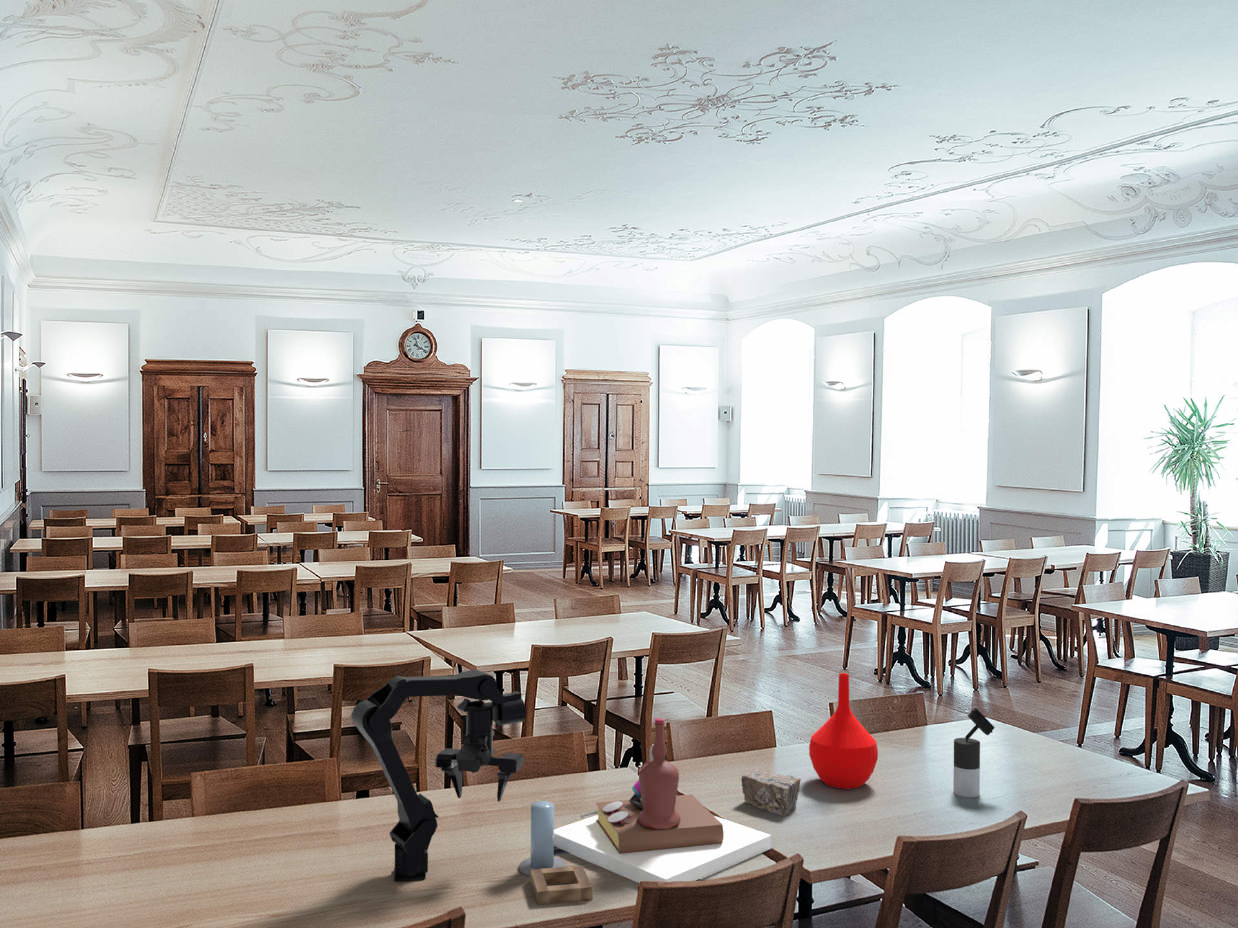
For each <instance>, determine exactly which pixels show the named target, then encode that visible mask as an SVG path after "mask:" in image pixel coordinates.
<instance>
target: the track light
mask: <svg viewBox="0 0 1238 928" xmlns="http://www.w3.org/2000/svg"><path fill="white" fill-rule="evenodd" d="M967 717H968V718H969V720H971V722H972V723H973V724H974V726H973V727H972V729H970V731H969V732H968V733H967V734H966V735H965V736H964V737H957V738H956V737H955V738H954V739H953V794H955V796H958V797H963V798H977V797H980V792H981V791H980V790H981V789H980V787H981V786H980V782H981V781H980V780H981V775H980V774H981V767H980V766H981V742H980V741H979V740H978V739H975V738H972V736H973V734H975V733H976V732H977V730H978V729H979V730H980V731H981V732H982V733H983V734H984V735H986V736H990V734H991V733H993V730H994V729H995V728H996V727H995V726H994V725H993V724H992V723H991V722H990V721H989V719H988V718H986V716H985V715H983V714H982V712H981V711H980V710H979V709H978V708H977V707H974V708H973V709H972V710H971V711H970V712H969V714H968V715H967Z"/></svg>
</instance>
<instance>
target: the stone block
mask: <svg viewBox="0 0 1238 928" xmlns="http://www.w3.org/2000/svg"><path fill="white" fill-rule="evenodd" d="M740 779H741V787H742V793H743V795H744V798H743V799H744V802H745V803H747V804H749V805H752V806H753V807H756V808H757V809H760V810H766V811H768V812H769V813H772V814H776V815H778V816H779V815H780V816H782V817H785V816H787V815H789V814H790V813H792V812H794V811H795V810H796V809H797V802H798V796H799V792H800V789H801V787H800V786H801V777H799V776H794V775H790V774H789V775H787V774H786V775H784V774H783V775H782V774H779V773H774V772H770V771H766V770H761V769H757V768H755V769H753V770H751V771H748V772H747V773H744V774H743V775H741V778H740Z"/></svg>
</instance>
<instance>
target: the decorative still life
mask: <svg viewBox="0 0 1238 928" xmlns="http://www.w3.org/2000/svg"><path fill="white" fill-rule="evenodd" d="M664 726H665V719H664V718H661V717H658V718H657V717H656V718H655V719H654V731H655V732H654V733H655V734H654V736H655V737H654V741H653V744H652V745H651V746H650V748H649V760H646V761H645V762H644V763H643V764H642V765H641V766H640V767H639V769H638V770H637V771H638V773H639V774H638V780H637V781H636V782H635V783H634V784H633V786H632V787H631V790H632V791H633V792H634V793H633V794H632V796H631V798H630V799H623V800H611V801H600V802H599V801H598V802H597V801H596V802H595V804H596V806H597V810H596V809H595V810H593V811H590V812H589V811H588V812H586V813H582V814H580V818H581V820H579V821H575V822H573V823H569V824H566V825H563V826H561V827H556V828H557V829H555V828H554V846H555V847H557V848H560V849H562V850H564V851H566V852H569V853H571V854H570V855H573V856H574V857H577V858H579V859H582V860H584V861H586V862H588V863H591V864H593V865H595V866H598V867H601V868H603V869H605V870H608V871H610V872H612V873H614V874H617V875H619V876H622V877H623V878H624V877H625V878H627V879H629V880H630V881H633V882H635V883H638V882H639V881H668V882H671V881H692V880H697V879H700V880H703V879H705V878H707V877H710V876H712V875H714V874H716V873H718V872H721V871H724V870H726V869H727V868H731V867H732V866H735V865H737V864H739V863H741V862H743V861H746V860H748V859H751V858H753V857H756V856H758V855H760V854H762V853H765V852H767V851H768V850H771V849H772V834H769V833H767V832H766V833H765V832H763V831H759V830H757V829H755V828H752V827H748V826H745V825H742V824H740V823H736V822H733V821H731V820H727V819H725V818H722V817H719V816H717V815H714V814H713V813H711V811H709V809H707V808H706V807H705V806H704V805H703V804H702V803H701V802H700V800H699V799H697V798H696V797H695V796H694V795H693V794H690V793H689V794H683V795H682V794H681V795H678V788H679V782H680V771H679V769H678V768H677V767H676V766H675V765H674V764H673V763H671V762H669V761H667V760H666V756H667V753H668V752H667V751H668V750H667V746H666V743H665V738H664V732H665V731H664ZM590 815H593V816H590ZM588 816H589V817H588ZM585 817H587V818H585ZM583 818H584V819H583Z"/></svg>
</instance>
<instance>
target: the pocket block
mask: <svg viewBox="0 0 1238 928" xmlns="http://www.w3.org/2000/svg"><path fill="white" fill-rule="evenodd" d="M529 882H530V885H531V887H532V892H533V895H534V899H535V901H536V904H537V905H546V904H547V905H549V904H559V903H567V902H569V903H570V902H580V901H591V900H593V886H592V883H591V881H590V880H589V877H588V875H587V873H586V870H585V869H584V866H583V865H571V866H570V865H569V866H566V867H557V868H545V869H532V870H530V876H529Z"/></svg>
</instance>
